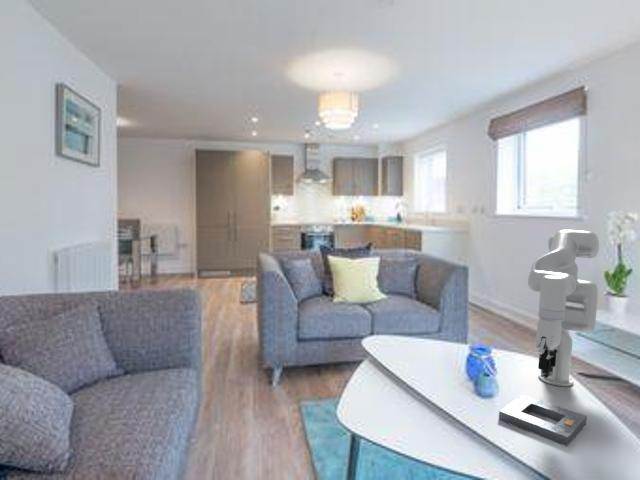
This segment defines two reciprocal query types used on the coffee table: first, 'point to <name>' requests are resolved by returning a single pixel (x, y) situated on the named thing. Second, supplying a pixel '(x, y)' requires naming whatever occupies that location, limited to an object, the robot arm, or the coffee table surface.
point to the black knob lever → (550, 372)
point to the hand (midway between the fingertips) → (546, 367)
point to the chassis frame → (559, 433)
